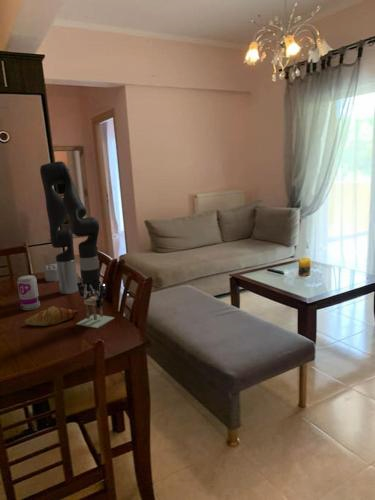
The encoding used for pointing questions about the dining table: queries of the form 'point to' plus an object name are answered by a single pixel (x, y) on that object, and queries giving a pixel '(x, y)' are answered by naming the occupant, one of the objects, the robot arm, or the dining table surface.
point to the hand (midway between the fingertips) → (93, 306)
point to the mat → (95, 321)
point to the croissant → (51, 316)
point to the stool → (92, 302)
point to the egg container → (51, 272)
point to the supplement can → (28, 292)
